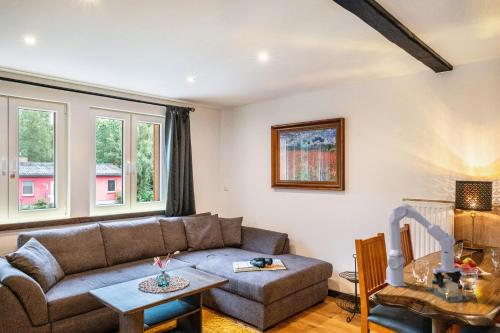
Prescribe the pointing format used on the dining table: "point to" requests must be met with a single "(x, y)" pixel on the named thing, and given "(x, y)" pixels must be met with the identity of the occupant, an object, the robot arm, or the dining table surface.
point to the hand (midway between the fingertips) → (447, 287)
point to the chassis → (448, 295)
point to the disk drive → (448, 279)
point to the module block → (449, 288)
